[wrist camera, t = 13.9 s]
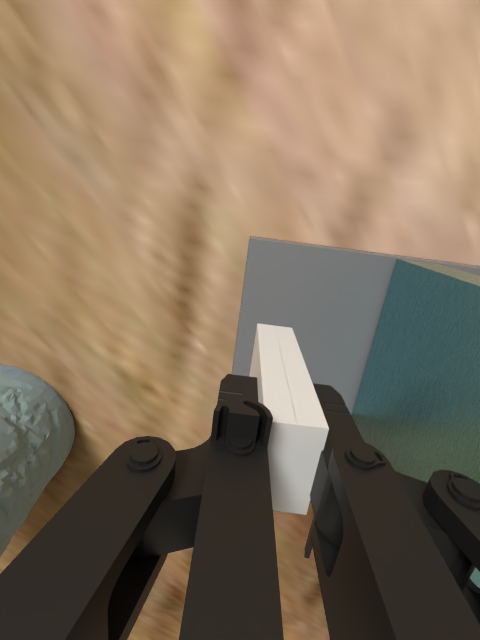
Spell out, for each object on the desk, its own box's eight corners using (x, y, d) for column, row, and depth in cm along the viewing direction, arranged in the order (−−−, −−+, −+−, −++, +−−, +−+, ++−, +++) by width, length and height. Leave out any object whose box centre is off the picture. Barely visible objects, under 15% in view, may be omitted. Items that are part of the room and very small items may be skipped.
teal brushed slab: (438, 263, 15) (685, 335, 6) (385, 421, 18) (507, 610, 9) (396, 258, 15) (590, 323, 6) (350, 416, 18) (442, 603, 9)
